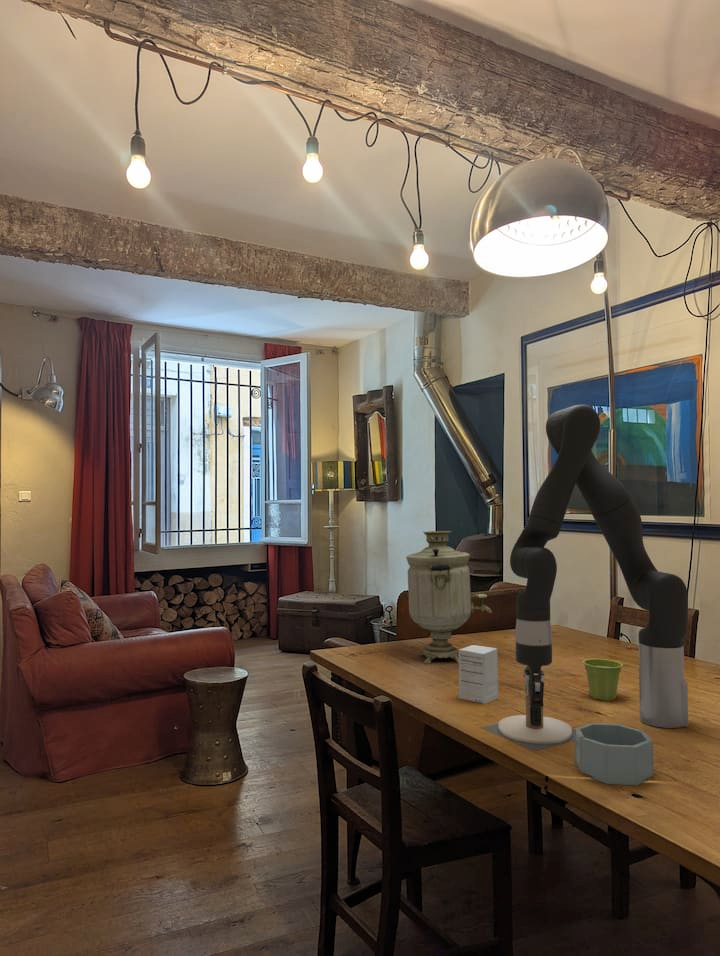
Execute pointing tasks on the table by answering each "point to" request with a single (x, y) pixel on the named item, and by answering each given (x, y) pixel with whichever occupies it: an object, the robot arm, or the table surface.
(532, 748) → the mat
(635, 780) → the bowl
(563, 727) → the lid
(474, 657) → the supplement box
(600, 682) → the plant pot
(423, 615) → the samovar
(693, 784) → the table surface
